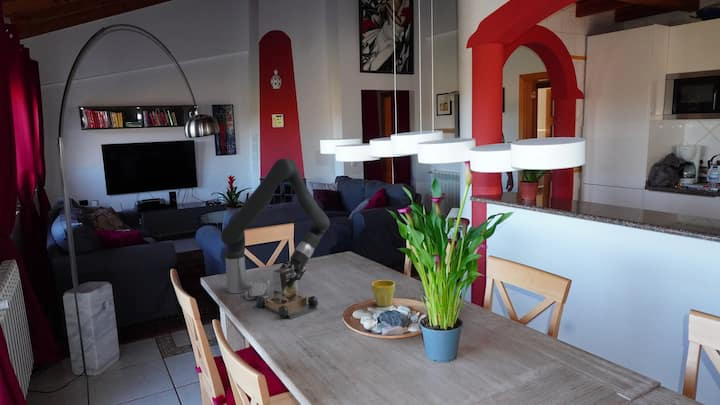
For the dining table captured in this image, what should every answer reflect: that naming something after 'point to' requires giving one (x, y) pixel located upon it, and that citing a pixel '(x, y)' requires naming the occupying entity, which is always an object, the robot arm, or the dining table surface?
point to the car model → (257, 290)
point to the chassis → (289, 306)
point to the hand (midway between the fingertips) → (282, 284)
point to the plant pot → (383, 292)
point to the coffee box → (284, 286)
